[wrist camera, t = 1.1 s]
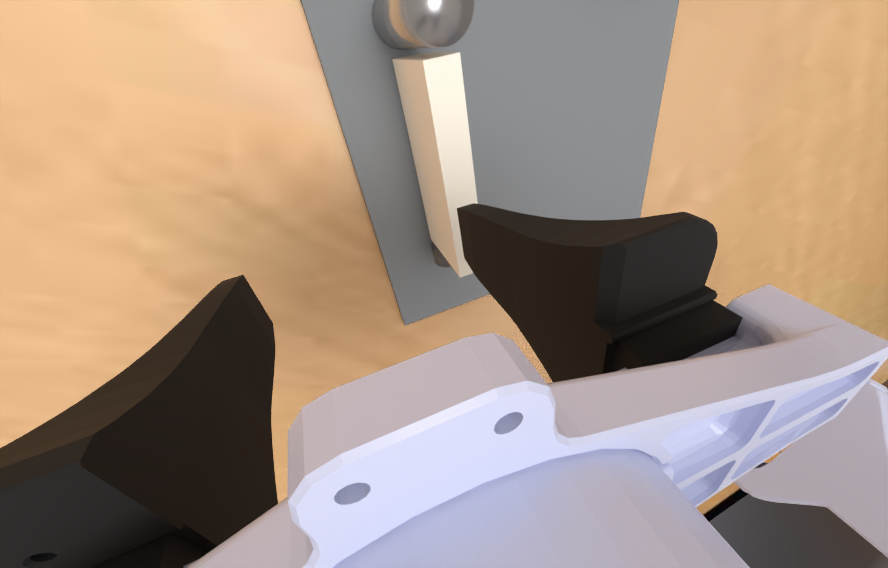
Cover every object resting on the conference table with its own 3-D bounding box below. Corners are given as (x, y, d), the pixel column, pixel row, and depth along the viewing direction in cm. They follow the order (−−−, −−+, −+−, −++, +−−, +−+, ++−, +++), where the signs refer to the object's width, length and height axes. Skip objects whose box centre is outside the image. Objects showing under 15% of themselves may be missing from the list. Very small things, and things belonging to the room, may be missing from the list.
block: (458, 247, 24) (491, 286, 20) (430, 256, 24) (459, 297, 20) (425, 51, 17) (465, 50, 13) (386, 60, 17) (416, 61, 13)
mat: (632, 237, 31) (636, 239, 30) (403, 322, 27) (405, 325, 26) (688, -89, 19) (695, -91, 18) (293, -22, 15) (293, -24, 15)
